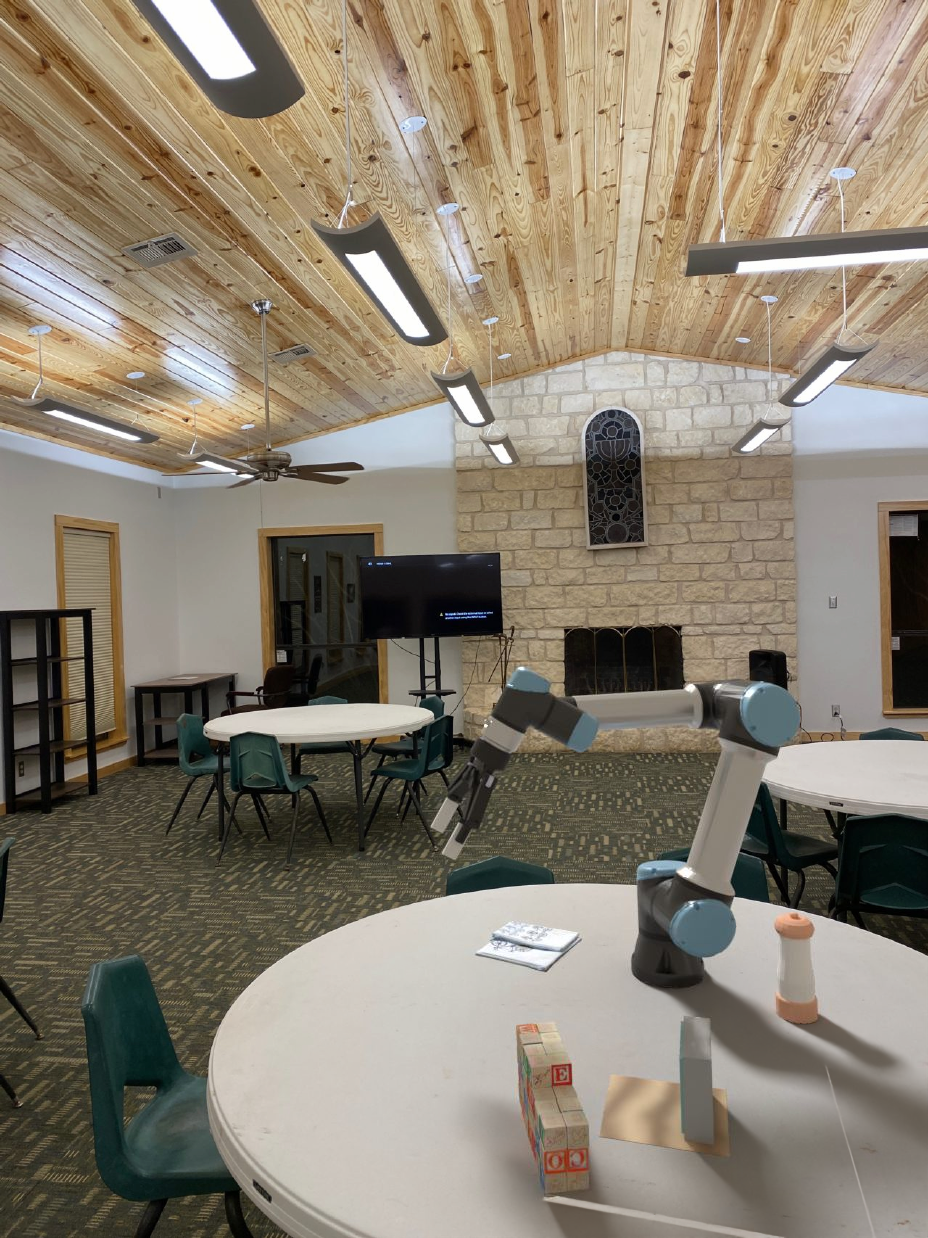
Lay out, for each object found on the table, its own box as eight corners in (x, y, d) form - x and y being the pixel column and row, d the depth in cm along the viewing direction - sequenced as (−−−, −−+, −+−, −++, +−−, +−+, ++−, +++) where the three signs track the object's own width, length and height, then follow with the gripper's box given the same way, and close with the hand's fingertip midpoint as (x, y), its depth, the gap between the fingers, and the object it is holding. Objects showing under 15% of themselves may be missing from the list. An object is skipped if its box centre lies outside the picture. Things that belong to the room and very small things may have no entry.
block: (712, 1095, 123) (710, 1018, 123) (714, 1145, 112) (711, 1060, 112) (683, 1091, 124) (680, 1015, 124) (681, 1140, 113) (679, 1056, 113)
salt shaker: (818, 1008, 150) (815, 908, 150) (817, 1027, 143) (814, 922, 143) (777, 1002, 153) (774, 903, 153) (774, 1019, 146) (771, 917, 146)
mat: (726, 1093, 124) (725, 1089, 124) (730, 1161, 109) (729, 1157, 109) (611, 1078, 130) (610, 1074, 130) (599, 1140, 114) (599, 1136, 114)
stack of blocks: (591, 1195, 104) (588, 1101, 104) (544, 1199, 103) (541, 1106, 103) (556, 1097, 125) (554, 1019, 125) (518, 1100, 125) (515, 1023, 124)
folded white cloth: (582, 941, 186) (582, 932, 186) (544, 975, 169) (544, 965, 169) (512, 926, 196) (512, 917, 196) (469, 957, 179) (469, 947, 179)
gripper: (466, 720, 160) (416, 812, 160) (494, 752, 136) (435, 860, 136) (497, 737, 162) (448, 827, 162) (531, 771, 138) (472, 878, 137)
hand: (442, 842), depth 149 cm, fingers open, 13 cm apart
